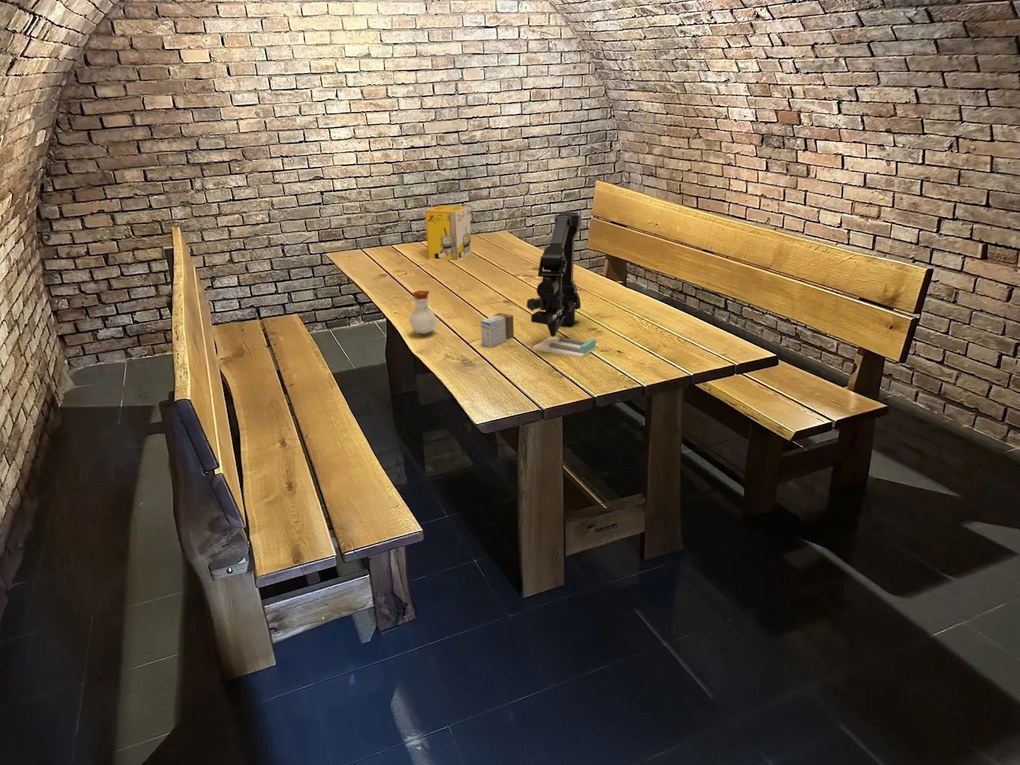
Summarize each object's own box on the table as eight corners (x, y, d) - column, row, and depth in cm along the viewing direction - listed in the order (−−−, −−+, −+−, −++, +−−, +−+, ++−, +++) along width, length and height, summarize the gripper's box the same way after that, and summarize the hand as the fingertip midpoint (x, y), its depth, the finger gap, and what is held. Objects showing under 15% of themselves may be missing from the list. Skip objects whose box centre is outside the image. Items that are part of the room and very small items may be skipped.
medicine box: (496, 338, 253) (495, 315, 249) (506, 341, 250) (505, 317, 246) (481, 345, 247) (480, 320, 244) (491, 347, 244) (490, 323, 241)
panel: (498, 312, 254) (513, 315, 251) (499, 334, 257) (513, 337, 254) (493, 315, 251) (508, 317, 248) (494, 337, 254) (509, 339, 251)
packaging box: (458, 264, 355) (455, 212, 345) (428, 261, 360) (424, 210, 350) (471, 256, 368) (469, 206, 359) (442, 254, 374) (439, 205, 364)
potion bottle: (439, 336, 256) (437, 295, 251) (412, 339, 254) (408, 297, 248) (435, 328, 265) (432, 288, 259) (408, 331, 262) (405, 290, 257)
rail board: (551, 339, 251) (551, 329, 249) (598, 347, 242) (598, 337, 240) (533, 349, 242) (533, 339, 240) (581, 359, 232) (581, 348, 231)
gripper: (545, 281, 248) (546, 325, 254) (516, 294, 234) (517, 340, 240) (574, 285, 242) (574, 330, 248) (546, 299, 228) (546, 346, 234)
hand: (552, 336), depth 243 cm, fingers closed
